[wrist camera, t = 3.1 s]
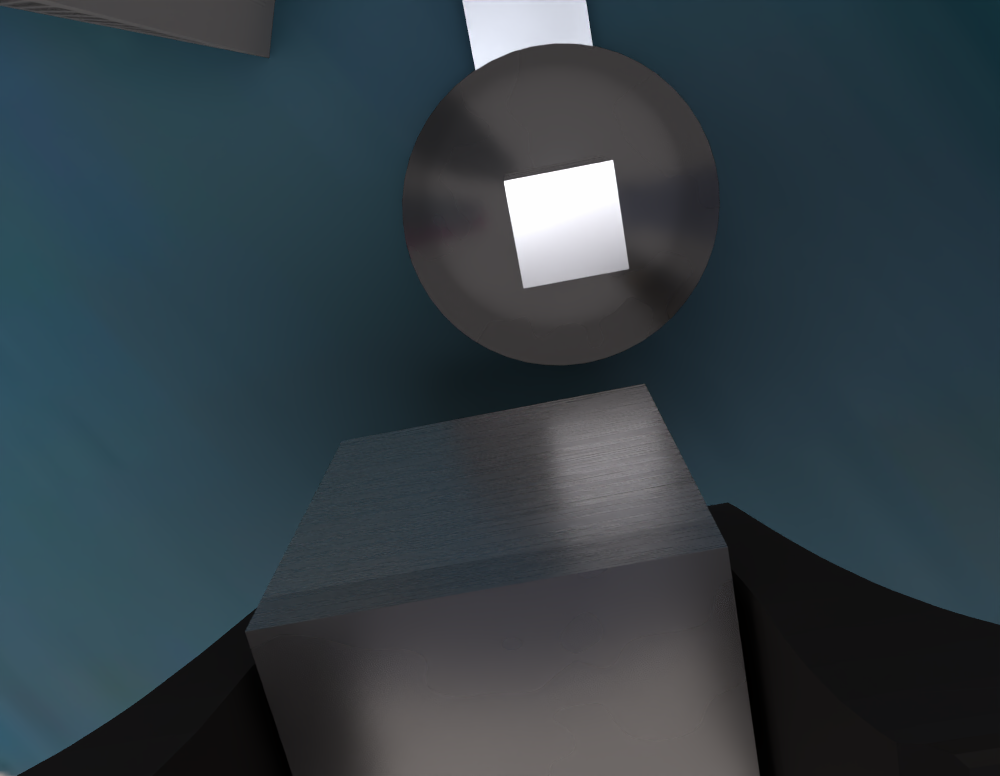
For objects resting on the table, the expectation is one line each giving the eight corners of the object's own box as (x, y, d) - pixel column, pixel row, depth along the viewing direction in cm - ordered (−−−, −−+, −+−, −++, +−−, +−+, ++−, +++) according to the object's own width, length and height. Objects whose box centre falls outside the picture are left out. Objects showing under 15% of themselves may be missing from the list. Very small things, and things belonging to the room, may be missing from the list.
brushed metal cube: (644, 383, 13) (727, 547, 8) (687, 650, 14) (781, 927, 9) (341, 441, 13) (244, 631, 8) (411, 696, 15) (362, 989, 10)
